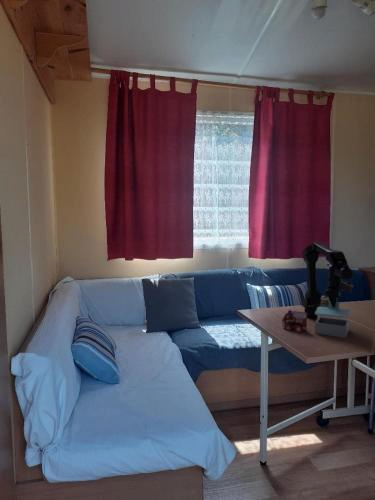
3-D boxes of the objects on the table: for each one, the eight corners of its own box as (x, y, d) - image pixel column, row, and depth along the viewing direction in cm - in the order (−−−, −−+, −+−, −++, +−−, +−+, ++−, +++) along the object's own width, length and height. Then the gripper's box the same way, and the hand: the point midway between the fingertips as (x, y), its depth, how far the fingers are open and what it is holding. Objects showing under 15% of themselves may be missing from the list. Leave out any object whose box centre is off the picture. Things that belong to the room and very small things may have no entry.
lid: (314, 315, 171) (315, 305, 171) (318, 309, 182) (319, 299, 182) (347, 319, 165) (347, 309, 164) (349, 312, 175) (349, 302, 175)
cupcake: (336, 309, 219) (336, 293, 218) (333, 313, 211) (334, 296, 210) (320, 307, 224) (320, 292, 223) (316, 311, 216) (317, 295, 215)
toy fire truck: (284, 326, 185) (285, 307, 184) (309, 331, 178) (309, 310, 177) (280, 330, 179) (280, 310, 178) (305, 334, 173) (305, 314, 172)
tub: (314, 334, 172) (315, 322, 172) (318, 328, 183) (318, 316, 182) (346, 339, 166) (346, 326, 165) (348, 332, 176) (348, 320, 176)
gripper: (351, 280, 164) (349, 313, 166) (353, 274, 181) (352, 304, 182) (325, 278, 170) (324, 310, 171) (330, 273, 186) (329, 302, 187)
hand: (333, 307), depth 178 cm, fingers closed on lid
